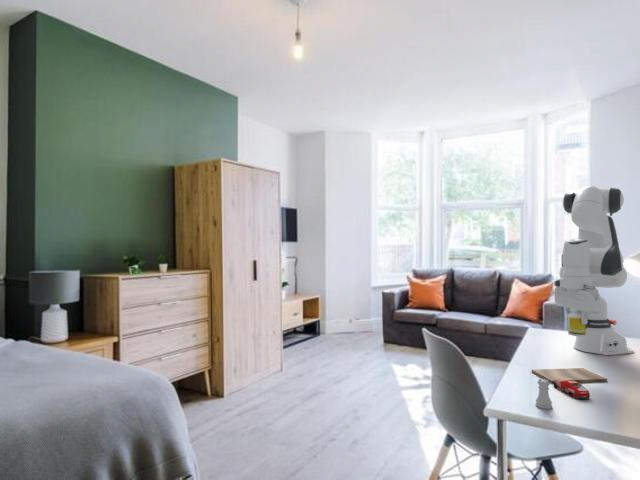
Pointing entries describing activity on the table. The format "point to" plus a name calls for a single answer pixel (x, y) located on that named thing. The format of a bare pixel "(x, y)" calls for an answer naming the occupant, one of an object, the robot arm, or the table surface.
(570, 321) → the supplement bottle
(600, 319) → the robot arm
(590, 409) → the table surface
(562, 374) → the walnut board
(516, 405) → the table surface
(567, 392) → the race car
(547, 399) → the rook chess piece
